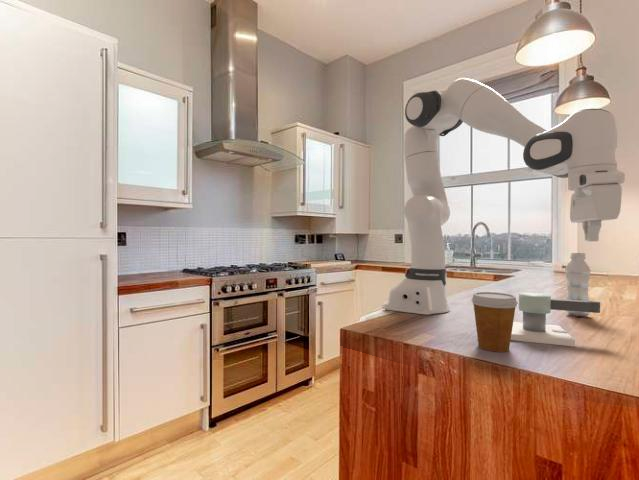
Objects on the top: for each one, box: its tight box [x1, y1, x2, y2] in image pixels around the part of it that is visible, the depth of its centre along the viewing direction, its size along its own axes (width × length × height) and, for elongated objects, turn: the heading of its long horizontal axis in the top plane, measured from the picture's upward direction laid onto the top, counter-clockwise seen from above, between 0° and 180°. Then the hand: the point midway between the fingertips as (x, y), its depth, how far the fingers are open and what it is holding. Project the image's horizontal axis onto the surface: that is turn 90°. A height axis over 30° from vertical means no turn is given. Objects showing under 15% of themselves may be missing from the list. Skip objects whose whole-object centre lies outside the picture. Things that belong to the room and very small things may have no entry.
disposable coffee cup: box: [470, 291, 519, 353], centre depth 80 cm, size 10×10×12 cm
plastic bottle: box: [564, 252, 592, 318], centre depth 111 cm, size 6×7×20 cm
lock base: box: [510, 311, 576, 347], centre depth 90 cm, size 14×14×6 cm
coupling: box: [518, 292, 601, 315], centre depth 88 cm, size 17×7×4 cm, turn 68°
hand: (591, 241), depth 80 cm, fingers closed
